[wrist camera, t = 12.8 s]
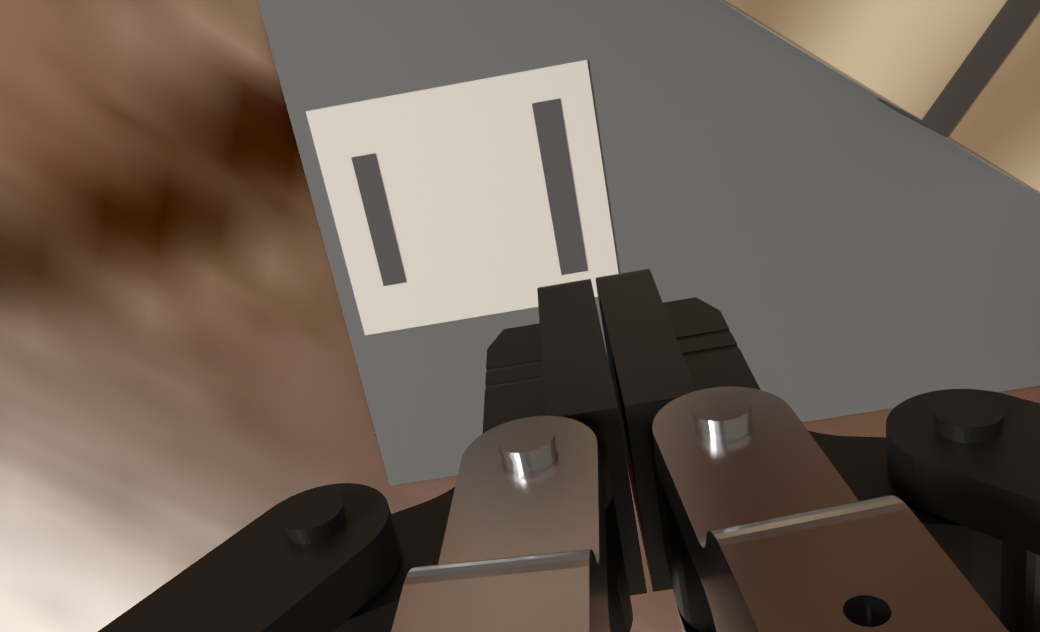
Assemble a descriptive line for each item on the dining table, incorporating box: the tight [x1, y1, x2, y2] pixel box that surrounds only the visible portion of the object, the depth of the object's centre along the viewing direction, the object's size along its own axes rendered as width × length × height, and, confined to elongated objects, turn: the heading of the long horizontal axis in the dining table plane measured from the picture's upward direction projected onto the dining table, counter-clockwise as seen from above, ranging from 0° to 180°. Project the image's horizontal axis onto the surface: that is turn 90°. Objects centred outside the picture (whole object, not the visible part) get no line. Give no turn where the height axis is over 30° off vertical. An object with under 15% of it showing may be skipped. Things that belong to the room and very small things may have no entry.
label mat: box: [258, 0, 1040, 486], centre depth 26 cm, size 24×28×1 cm
